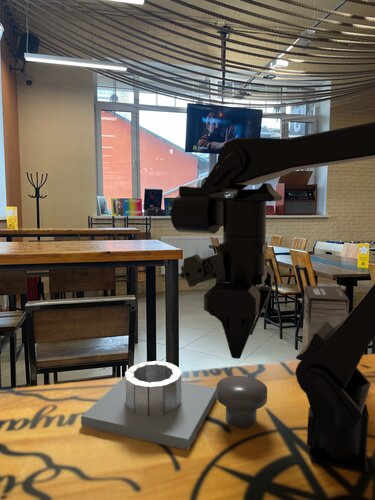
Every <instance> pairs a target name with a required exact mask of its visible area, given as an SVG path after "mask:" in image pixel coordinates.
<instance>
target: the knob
mask: <svg viewBox="0 0 375 500" xmlns="http://www.w3.org/2000/svg"><path fill="white" fill-rule="evenodd" d="M216 388H217V397H216V400H217V401H218V403H220V404H221V405H222V406H224V407H225V422H226V423H227V424H228V425H229V426H231V427H233V428H235V429H236V428H237V429H241V430H242V429H243V430H244V429H251V428H252V427H254V426H255V425H256V424H257V412H258V411H257V410H258V409H259V410H260V409H261V408H262V407H264V406H266V404H267V402H268V387H267V386H266V384H265V383H263V382H262V381H261V380H259V379H257V378H254V377H251V376H246V375H231V376H226V377H224V378H222V379H220V380H219V381H218V382H217V384H216Z"/></svg>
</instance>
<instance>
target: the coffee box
mask: <svg viewBox="0 0 375 500" xmlns="http://www.w3.org/2000/svg"><path fill="white" fill-rule="evenodd" d="M303 296H304V299H303V321H302V323H303V324H302V326H303V327H302V346H301V350H302V349H303V348H304V347H305V346H306V345H307V343H308V342H309V341H310V340H311V339H312V338H313V336H314V334H315V333H316V332H317V330H318V329H319V328H320V327H321V326H322V324H323V323H324V322H325V321H327V322H328V323H329V324H330V325H331V326H332V327H333V328H334V327H336V326H337V325H338V324H340V323H341V322H342V321H344V320H345V319H346V318H347V317H348V315H349V307H350V300H349V298H348V296H347V295H346V293H345V292H344V290H343V289H342V288H341V286H327V285H326V286H324V285H304V295H303Z"/></svg>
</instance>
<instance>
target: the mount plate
mask: <svg viewBox="0 0 375 500" xmlns="http://www.w3.org/2000/svg"><path fill="white" fill-rule="evenodd" d="M216 400H217V387H212V386H208V385H207V386H205V385H201V384H200V385H199V384H194V383H188V382H182V381H181V404H180V405H179V407H178V408H177V409H176V410H175V411H173V412H170V413H168V414H166V415H163V416H154V417H149V416H148V417H146V416H141V415H136V414H134V413H132V412H131V411H130V410H129V409H127V407H126V383H125V376H124V377H122V378H121V379H120V380H119V381H118V382H117V383H116V384H115V385H114V386H112V387H111V388H110V389H109V390H108V391H107V392H106V393H105V394H103V396H101V397H100V398H99V399H98V400H97V401H96V402H95V403H94V404H93V405H92V406H90V408H88V409H87V410H86V411H85V412H84V413H83V414H82V415H80V416H81V417H80V418H81V419H80V421H81V423H80V424H81V426H82V427H83V428H84V427H85V428H89V429H93V430H98V431H101V432H106V433H111V434H115V435H120V436H124V437H128V438H134V439H138V440H141V441H146V442H149V443H153V444H155V443H156V444H159V445H163V446H168V447H172V448H177V449H182V450H186V451H189V450H190V448H191V446H192V444H193V442H194V441H195V439H196V437H197V435H198V433H199V431H200V429H201V427H202V426H203V423H204V422H205V419H206V418H207V416H208V414H209V412H210V410H211V408H212V407H213V404H214V402H215V401H216Z"/></svg>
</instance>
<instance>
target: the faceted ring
mask: <svg viewBox="0 0 375 500" xmlns="http://www.w3.org/2000/svg"><path fill="white" fill-rule="evenodd" d="M124 374H125V375H124V377H125V383H126V407H127V409H129V410H130V411H131V412H132V413H134V414H136V415H141V416H146V417H148V416H149V417H154V416H163V415H166V414H168V413H170V412H173V411H175V410H176V409H177V408H178V407H179V405H180V404H181V382H182V371H181V370H180V367H179V366H177V365H175V364H173V363H171V362H166V361H160V360H158V361H157V360H153V361H144V362H143V361H142V362H141V363H137V364H134V365H132V366H130V367H129V368H128V369H127V370H126V371H125V372H124Z"/></svg>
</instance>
